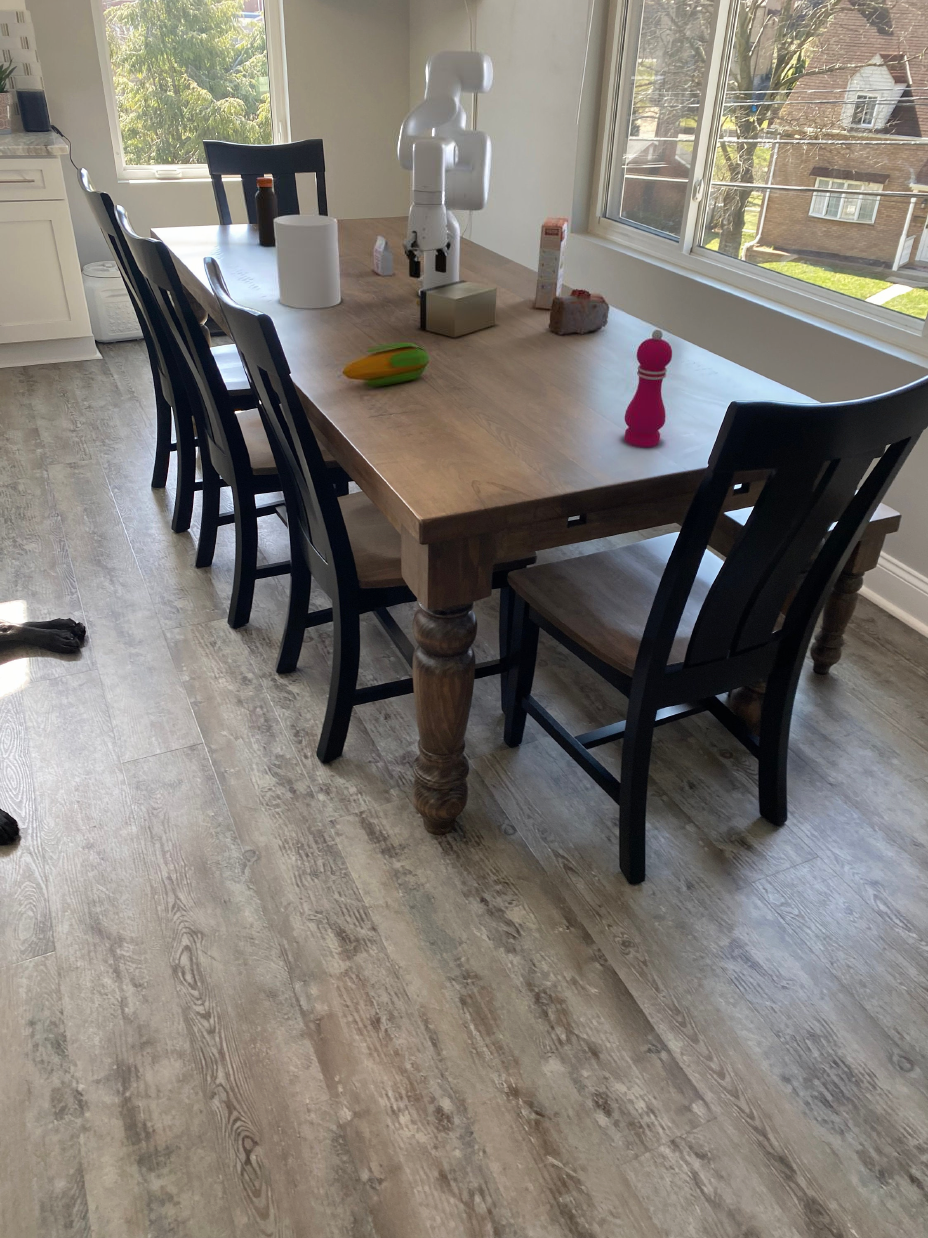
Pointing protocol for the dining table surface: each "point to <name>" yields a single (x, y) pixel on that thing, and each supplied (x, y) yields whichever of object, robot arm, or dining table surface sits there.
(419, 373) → the corn
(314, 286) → the canister
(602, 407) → the dining table surface
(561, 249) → the cracker box
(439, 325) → the box
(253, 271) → the dining table surface
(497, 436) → the dining table surface
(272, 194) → the bottle
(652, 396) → the pepper mill
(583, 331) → the food item
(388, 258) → the milk carton
